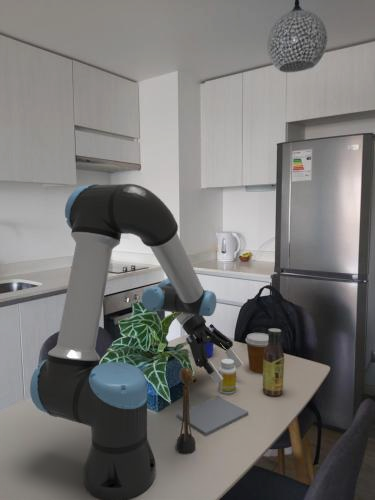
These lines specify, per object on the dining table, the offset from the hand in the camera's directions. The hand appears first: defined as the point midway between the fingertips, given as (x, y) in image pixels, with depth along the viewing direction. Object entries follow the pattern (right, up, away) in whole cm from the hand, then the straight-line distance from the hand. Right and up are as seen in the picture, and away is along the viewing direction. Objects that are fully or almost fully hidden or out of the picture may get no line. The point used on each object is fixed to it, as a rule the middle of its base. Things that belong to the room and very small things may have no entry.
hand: (230, 373), depth 123 cm
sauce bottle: (+13, -6, 0) cm, 14 cm away
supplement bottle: (-1, -6, +1) cm, 6 cm away
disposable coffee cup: (+12, -4, +17) cm, 21 cm away
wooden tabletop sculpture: (-14, -9, -29) cm, 33 cm away
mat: (-7, -7, -14) cm, 17 cm away
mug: (-6, -2, +32) cm, 32 cm away
